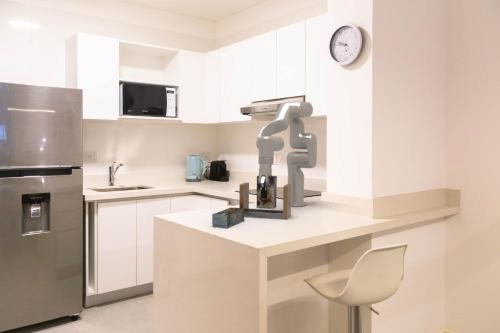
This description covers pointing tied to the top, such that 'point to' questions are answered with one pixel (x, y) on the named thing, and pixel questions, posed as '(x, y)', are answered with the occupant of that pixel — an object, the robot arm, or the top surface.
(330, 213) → the top surface
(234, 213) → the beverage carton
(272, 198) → the coffee box
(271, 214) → the wooden book rack
